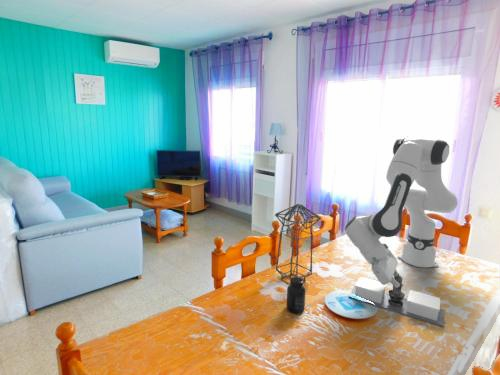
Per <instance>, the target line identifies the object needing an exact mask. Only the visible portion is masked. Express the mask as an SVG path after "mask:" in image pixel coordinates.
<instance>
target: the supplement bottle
mask: <svg viewBox="0 0 500 375" xmlns="http://www.w3.org/2000/svg"><path fill="white" fill-rule="evenodd" d="M299 277H300V276H299ZM299 277H296V276H293V277H291V279H290V278H289V279H290V281H289V284H288V286H287V288H286V310H287V311H288V312H289V313H290V314H293V315H294V314H295V315H300V314H302V313H303V312H305V310H306V308H305V307H306V291H307V290H306V287H305V285H304V282H303V281H304V280H303V279H304V278H303V277H301V278H299ZM302 278H303V279H302Z"/></svg>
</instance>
